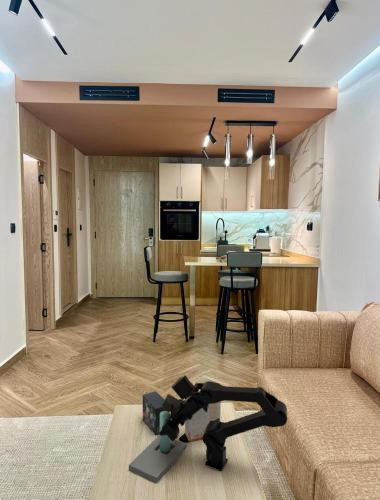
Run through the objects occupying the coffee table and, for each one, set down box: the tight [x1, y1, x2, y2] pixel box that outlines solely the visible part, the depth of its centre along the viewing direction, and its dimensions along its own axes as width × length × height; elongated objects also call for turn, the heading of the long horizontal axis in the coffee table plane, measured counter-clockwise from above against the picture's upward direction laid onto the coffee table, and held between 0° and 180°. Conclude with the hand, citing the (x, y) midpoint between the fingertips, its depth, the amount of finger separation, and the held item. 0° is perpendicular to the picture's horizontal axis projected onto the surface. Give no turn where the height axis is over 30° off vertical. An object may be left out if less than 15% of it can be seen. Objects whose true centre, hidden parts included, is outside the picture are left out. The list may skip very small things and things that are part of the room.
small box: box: [142, 390, 166, 436], centre depth 144 cm, size 13×7×12 cm, turn 33°
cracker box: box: [184, 381, 222, 442], centre depth 137 cm, size 14×6×21 cm, turn 108°
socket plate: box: [128, 434, 187, 484], centre depth 123 cm, size 12×20×2 cm, turn 151°
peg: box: [159, 411, 171, 454], centre depth 126 cm, size 4×4×14 cm
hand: (161, 430), depth 127 cm, fingers closed on peg, 4 cm apart
